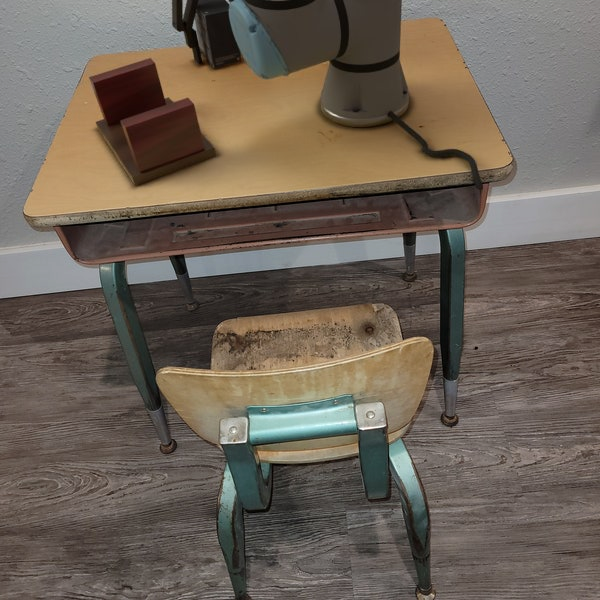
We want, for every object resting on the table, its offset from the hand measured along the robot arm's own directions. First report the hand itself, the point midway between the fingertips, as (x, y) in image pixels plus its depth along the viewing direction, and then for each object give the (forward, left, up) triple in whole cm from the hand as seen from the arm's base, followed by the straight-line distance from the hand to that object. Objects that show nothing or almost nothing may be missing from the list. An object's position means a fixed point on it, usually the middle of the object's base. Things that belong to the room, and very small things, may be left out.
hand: (220, 54), depth 123 cm
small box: (0, 0, 0) cm, 0 cm away
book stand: (-23, +23, 0) cm, 33 cm away
